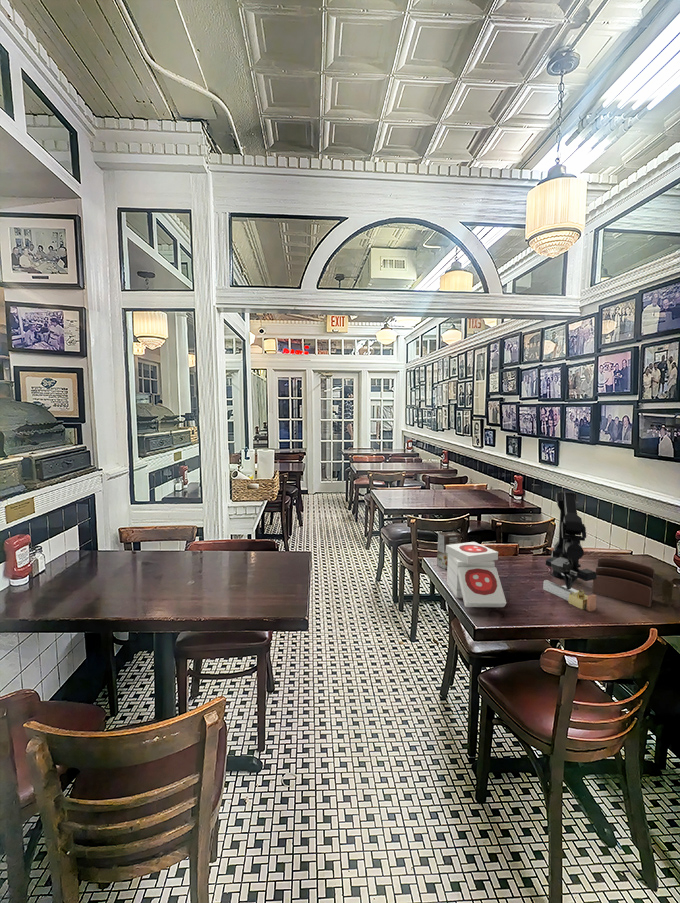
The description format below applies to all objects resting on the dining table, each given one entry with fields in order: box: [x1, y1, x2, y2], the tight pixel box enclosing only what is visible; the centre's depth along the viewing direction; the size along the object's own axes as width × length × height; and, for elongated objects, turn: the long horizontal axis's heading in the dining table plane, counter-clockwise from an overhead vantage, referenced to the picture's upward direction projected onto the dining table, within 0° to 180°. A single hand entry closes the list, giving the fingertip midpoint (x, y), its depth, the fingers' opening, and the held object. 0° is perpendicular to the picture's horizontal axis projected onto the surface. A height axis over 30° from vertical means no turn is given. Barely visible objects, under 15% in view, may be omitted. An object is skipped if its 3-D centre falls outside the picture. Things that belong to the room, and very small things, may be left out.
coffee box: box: [436, 531, 462, 570], centre depth 207 cm, size 9×6×16 cm
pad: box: [561, 584, 579, 593], centre depth 180 cm, size 9×9×1 cm
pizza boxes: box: [446, 541, 507, 608], centre depth 173 cm, size 19×30×18 cm, turn 1°
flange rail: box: [542, 579, 597, 612], centre depth 170 cm, size 11×22×6 cm, turn 23°
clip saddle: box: [567, 589, 588, 610], centre depth 166 cm, size 6×6×6 cm
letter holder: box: [591, 557, 655, 608], centre depth 175 cm, size 10×20×14 cm, turn 50°
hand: (568, 588), depth 171 cm, fingers closed
